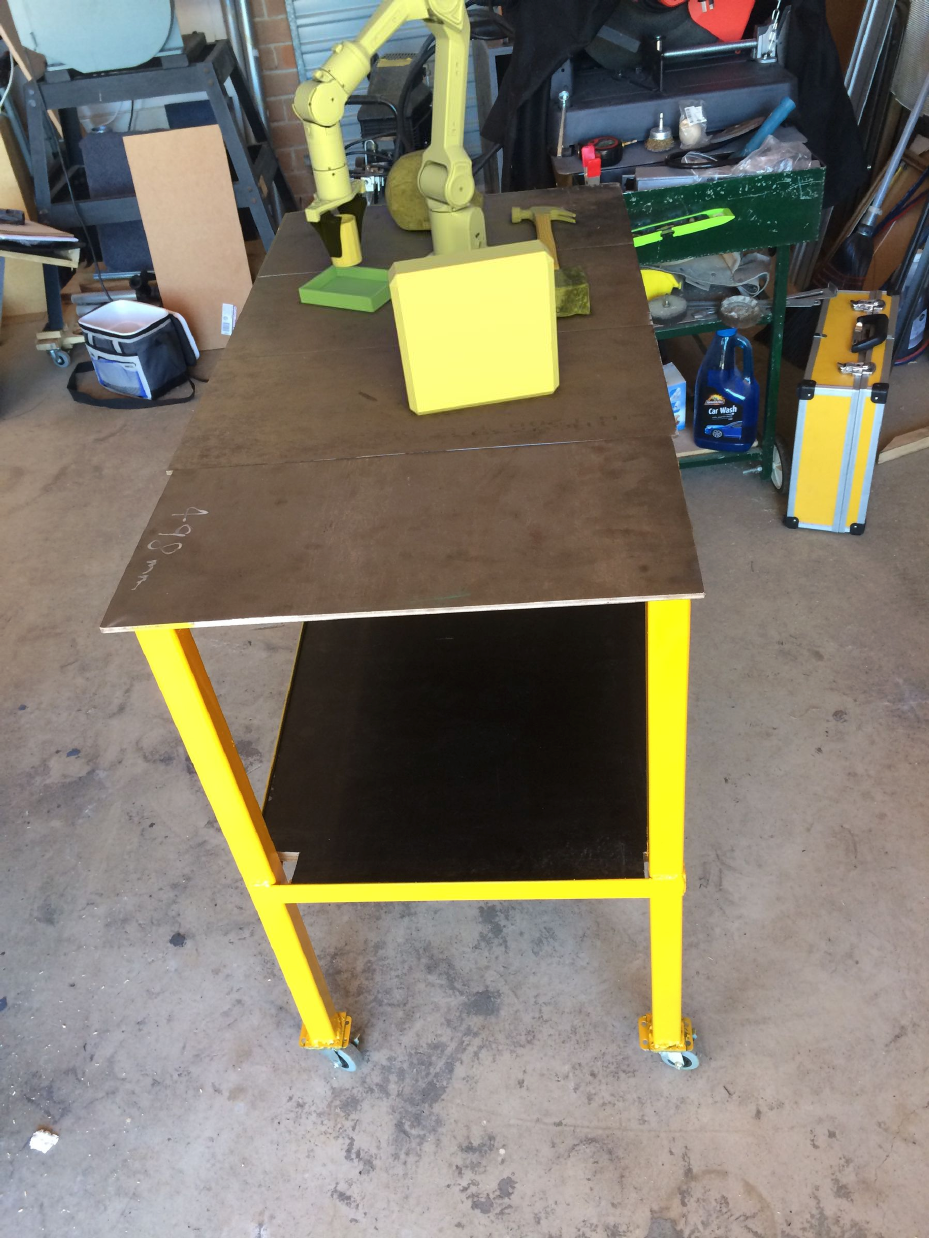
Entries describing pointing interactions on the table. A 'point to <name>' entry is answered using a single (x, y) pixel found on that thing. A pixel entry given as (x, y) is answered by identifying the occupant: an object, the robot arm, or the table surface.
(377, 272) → the tray
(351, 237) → the cup
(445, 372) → the yellow beveled square tile
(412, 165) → the stone
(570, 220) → the hammer
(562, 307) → the stone block
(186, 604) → the table surface
